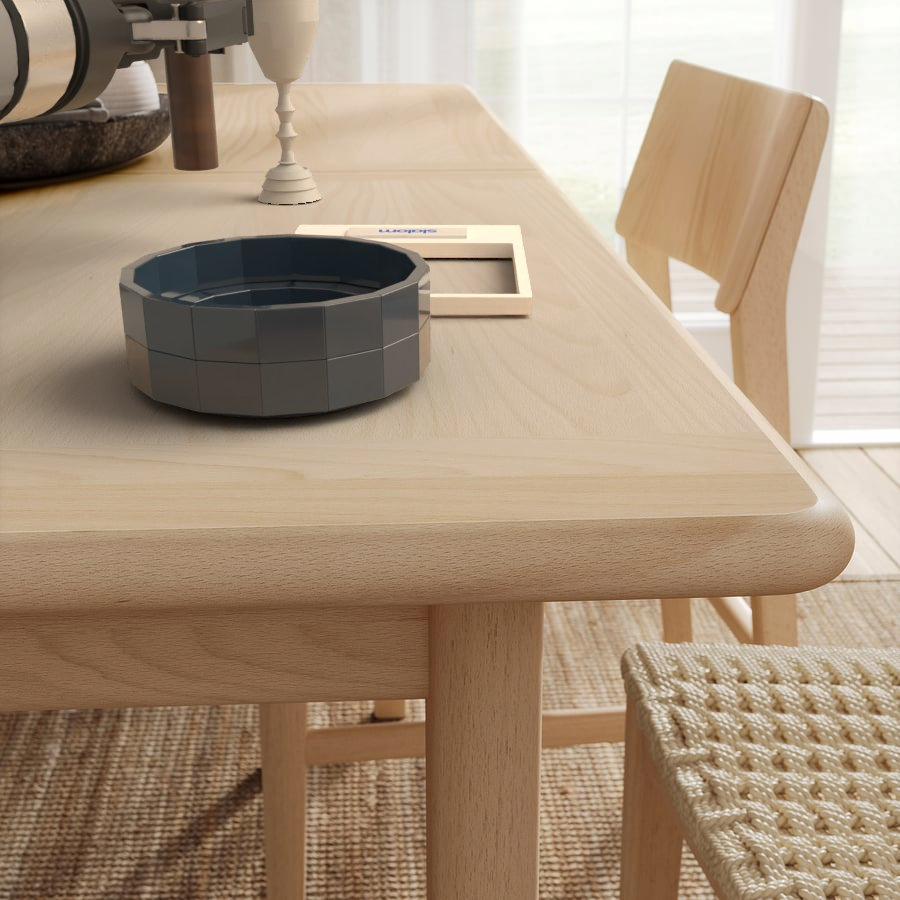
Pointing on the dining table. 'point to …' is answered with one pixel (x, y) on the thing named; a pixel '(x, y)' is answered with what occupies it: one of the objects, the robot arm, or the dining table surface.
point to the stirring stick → (191, 111)
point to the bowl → (276, 324)
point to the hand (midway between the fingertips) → (222, 12)
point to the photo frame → (453, 245)
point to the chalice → (285, 86)
